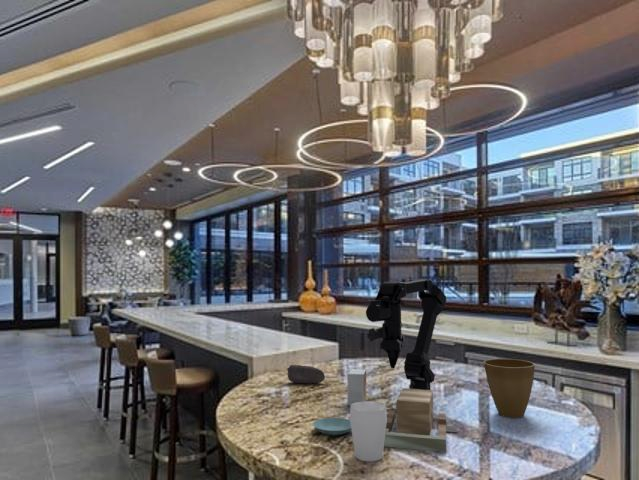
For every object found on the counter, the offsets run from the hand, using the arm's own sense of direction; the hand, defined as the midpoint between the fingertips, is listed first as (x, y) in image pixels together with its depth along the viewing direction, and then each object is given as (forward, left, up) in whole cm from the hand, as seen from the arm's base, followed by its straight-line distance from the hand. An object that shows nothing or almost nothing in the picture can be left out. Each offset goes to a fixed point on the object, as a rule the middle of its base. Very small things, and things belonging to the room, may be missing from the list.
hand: (393, 367), depth 158 cm
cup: (+26, +34, -13) cm, 45 cm away
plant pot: (-30, +20, -13) cm, 38 cm away
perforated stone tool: (+16, -42, -13) cm, 47 cm away
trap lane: (+6, +22, -13) cm, 27 cm away
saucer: (+27, +14, -14) cm, 33 cm away
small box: (+9, -9, -13) cm, 18 cm away
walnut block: (+3, +19, -13) cm, 23 cm away
